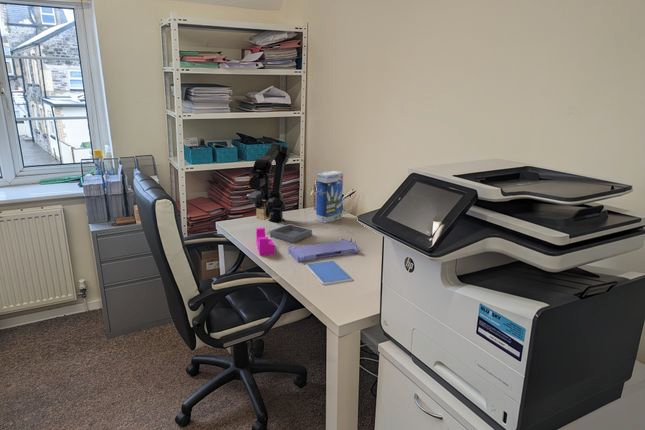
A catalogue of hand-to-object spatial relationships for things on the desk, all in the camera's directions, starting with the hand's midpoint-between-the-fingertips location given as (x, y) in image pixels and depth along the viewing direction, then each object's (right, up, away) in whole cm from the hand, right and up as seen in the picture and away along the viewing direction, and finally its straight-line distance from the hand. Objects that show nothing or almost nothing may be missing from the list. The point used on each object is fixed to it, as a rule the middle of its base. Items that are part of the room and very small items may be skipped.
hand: (263, 216), depth 212 cm
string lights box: (+32, -2, +23) cm, 39 cm away
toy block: (+4, -15, -22) cm, 26 cm away
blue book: (+31, -23, -44) cm, 58 cm away
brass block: (0, -1, 0) cm, 1 cm away
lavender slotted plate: (+30, -16, -24) cm, 42 cm away
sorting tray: (+14, -10, -5) cm, 18 cm away
